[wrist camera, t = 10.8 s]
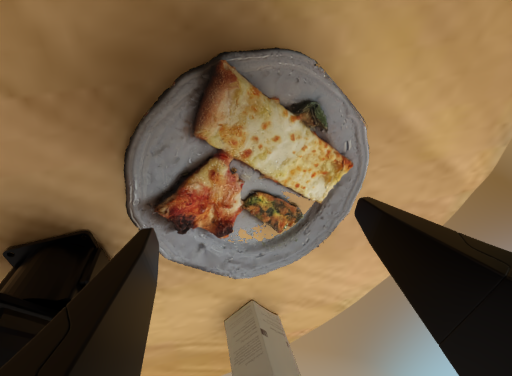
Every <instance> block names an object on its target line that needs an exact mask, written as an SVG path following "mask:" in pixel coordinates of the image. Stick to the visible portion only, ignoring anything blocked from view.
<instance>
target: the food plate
mask: <svg viewBox="0 0 512 376" xmlns="http://www.w3.org/2000/svg"><path fill="white" fill-rule="evenodd" d="M316 63H317V62H316V61H314V59H311V58H309V57H308V56H306V55H305V54H302V53H301V52H298V51H294V50H289V49H280V48H276V47H275V48H272V49H260V50H254V51H253V50H251V51H243V52H241V51H239V52H236V51H235V52H224V53H220V54H219V55H218V56H216V57H215V58H212V60H210V61H209V62H207V63H206V64H203V65H201V66H198V67H196V68H193V69H190V70H189V71H187V72H185V73H184V74H182V75H181V76H179V77H178V78H177V79H176V80H175V81H174V83H173V86H171V88H168V89H166V90H165V91H164V92H163V94H162V95H161V96H160V97H158V98H159V99H158V101H156V102H155V103H154V105H153V107H151V108H150V109H149V110H148V111H147V113H146V114H145V115H144V117H143V118H142V119H141V121H140V123H139V124H138V126H137V127H136V129H135V131H134V133H133V135H132V136H131V138H130V142H129V145H128V147H127V149H126V153H125V160H124V162H125V164H124V178H125V184H126V185H125V186H126V208H127V214H128V216H129V217H130V219H131V221H132V222H133V224H134V225H135V226H137V227H139V228H140V229H139V230H141V229H143V228H150V227H152V228H154V230H155V233H156V236H157V239H158V242H159V253H160V254H161V255H163V256H164V257H165V258H167V259H168V260H171V261H173V262H177V263H179V264H184V265H185V266H187V265H188V266H191V267H193V268H196V269H201V270H203V271H206V272H211V273H215V274H218V275H222V276H229V278H230V277H233V278H234V279H240V278H242V279H243V278H251V277H255V276H259V275H263V274H266V273H268V272H270V271H273V270H276V269H277V268H280V267H283V266H286V265H288V264H291V263H293V262H294V261H297V260H299V259H301V258H302V257H303V256H305V255H307V254H308V253H309V252H310V251H312V250H313V249H315V248H316V247H319V244H320V243H321V242H323V240H325V239H327V238H328V236H329V235H330V234H331V232H333V231H334V229H335V228H336V227H337V226H338V224H339V223H340V222H341V221H342V220H344V218H345V217H346V215H348V213H349V212H350V210H351V207H352V205H353V202H354V201H355V198H356V196H357V194H358V193H359V191H360V190H361V187H362V183H363V181H364V179H365V175H366V171H367V166H368V162H369V147H368V146H369V145H368V142H367V129H366V126H365V124H363V121H364V119H363V118H362V116H361V114H360V113H359V112H358V111H357V109H356V108H355V107H354V106H353V104H352V103H351V102H350V100H349V99H348V98H347V96H346V95H345V94H343V92H342V91H341V90H340V88H339V87H338V86H337V85H336V84H335V82H334V81H333V80H332V79H331V78H330V77H329V75H328V74H327V73H325V74H324V72H323V71H324V70H323V69H322V68H318V66H316ZM317 64H318V63H317ZM320 67H321V66H320ZM329 78H330V79H331V80H332V81H331V80H330V79H329ZM332 82H333V83H332ZM352 106H353V107H354V108H355V109H354V108H353V107H352ZM356 111H357V112H358V113H357V112H356ZM359 115H360V116H361V117H360V116H359ZM361 118H362V119H363V121H362V119H361ZM360 119H361V120H360ZM364 122H365V121H364ZM232 167H234V168H236V169H237V171H236V173H234V172H232V171H231V168H232ZM281 191H283V192H286V191H287V192H289V193H294V194H296V195H297V196H298V197H300V196H302V197H304V198H307V199H309V200H313V201H316V202H315V203H314V204H313V205H312V207H311V208H310V209H309V210H308V211H307V212H306V214H304V215H303V214H302V212H301V210H300V209H299V208H298V207H294V206H293V205H291V204H290V203H289V202H288V201H287V199H289V198H290V197H287V198H285V197H286V196H285V195H282V194H283V193H282V192H281ZM275 195H276V196H275ZM263 222H265V223H267V225H269V226H271V227H272V228H273V229H274V230H276V231H277V232H278V233H281V232H282V231H283V230H284V229H286V227H287V226H290V227H291V226H292V225H293V224H294V223H297V222H298V223H297V224H296V225H294V226H293V227H291V228H290V229H289V230H287V231H284V232H283V233H282V234H279V235H276V236H275V237H274V238H272V239H266V238H264V239H263V241H262V242H261V241H259V242H258V240H256V239H255V238H254V239H248V240H247V242H248V243H245V239H246V238H243V240H244V241H243V242H242V241H238V240H241V239H242V238H240V236H238V235H239V234H238V231H239V230H240V228H241V229H243V230H246V231H247V234H248V235H251V236H253V232H256V230H255V231H253V229H251V228H252V227H258V226H257V224H259V226H261V225H263ZM263 227H266V226H263ZM260 228H261V227H260ZM233 230H234V232H233ZM261 231H262V230H260V233H261ZM232 232H233V233H232ZM210 233H211V234H210ZM257 233H258V232H256V234H257ZM212 234H213V235H212ZM235 234H236V235H237V236H236V235H235ZM265 235H266V234H265ZM231 236H232V237H231ZM271 236H273V234H272V235H271ZM262 237H263V236H262ZM252 238H253V237H252ZM229 239H230V240H231V241H235V242H234V243H231V242H229V241H228V240H229ZM233 239H235V240H233ZM265 239H266V240H265Z"/></svg>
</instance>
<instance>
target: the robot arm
mask: <svg viewBox="0 0 512 376" xmlns="http://www.w3.org/2000/svg"><path fill="white" fill-rule="evenodd" d="M355 217H356V219H357V221H358V223H359V225H360V226H361V228H362V230H363V232H364V234H365V236H366V237H367V239H368V241H369V243H370V244H371V246H372V248H373V249H374V251H375V252H376V254H377V255H378V257H379V258H380V259H381V261H382V262H383V264H384V265H385V267H386V268H387V270H388V271H389V273H390V274H391V276H392V277H393V278H394V280H395V282H396V283H397V285H398V286H399V287H400V289H401V290H402V292H403V293H404V295H405V296H406V298H407V299H408V301H409V302H410V304H411V305H412V307H413V308H414V310H415V311H416V313H417V314H418V315H419V317H420V318H421V320H422V321H423V323H424V324H425V326H426V327H427V329H428V330H429V332H430V333H431V334H432V336H433V338H434V339H435V341H436V342H437V343H438V344H439V347H440V348H441V349H442V351H443V353H444V354H445V356H446V357H447V359H448V360H449V362H450V363H451V364H452V366H453V367H454V369H455V370H456V372H457V373H458V375H459V376H512V252H509V251H507V250H504V249H501V248H498V247H495V246H493V245H490V244H487V243H485V242H482V241H479V240H477V239H474V238H471V237H469V236H466V235H464V234H461V233H457V232H456V231H453V230H451V229H449V228H446V227H444V226H441V225H438V224H436V223H433V222H431V221H428V220H426V219H423V218H421V217H418V216H416V215H413V214H411V213H408V212H406V211H403V210H401V209H398V208H396V207H393V206H390V205H388V204H385V203H383V202H380V201H378V200H375V199H373V198H370V197H363V198H360V199H359V200H358V202H357V206H356V209H355ZM83 235H84V236H86V237H83ZM10 252H12V253H10ZM13 253H14V254H13ZM3 256H4V257H5V258H6V259H7V261H8V262H9V263H10V264H11V265H12V266H13V268H12V269H11V271H10V272H9V273H8V274H7V276H6V277H5V278H4V279H3V281H2V282H1V283H0V376H140V374H141V368H142V363H143V358H144V352H145V347H146V341H147V336H148V330H149V325H150V320H151V314H152V309H153V303H154V298H155V293H156V287H157V277H158V260H159V242H158V239H157V236H156V233H155V230H154V228H152V227H150V228H143V229H141V230H140V231H139V232H138V233H137V234H136V235H135V236H134V237H133V238H132V239H131V240H130V241H129V242H128V243H127V244H126V245H125V246H124V247H123V248H122V249H121V250H120V251H119V252H118V253H117V254H116V255H115V256H114V257H113V258H112V259H111V260H110V261H109V260H108V258H107V256H106V255H105V253H104V251H103V250H102V249H101V248H99V246H98V244H97V243H96V241H95V239H94V238H93V236H92V234H91V233H90V232H89V231H79V232H75V233H71V234H66V235H62V236H57V237H53V238H49V239H44V240H40V241H35V242H31V243H27V244H22V245H18V246H13V247H9V248H7V249H6V250H5V251H4V253H3Z"/></svg>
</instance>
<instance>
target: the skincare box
mask: <svg viewBox="0 0 512 376" xmlns="http://www.w3.org/2000/svg"><path fill="white" fill-rule="evenodd" d="M224 323H225V330H226V336H227V343H228V349H229V356H230V363H231V369H232V376H301V374H300V372H299V369H298V366H297V364H296V361H295V358H294V355H293V353H292V350H291V348H290V345H289V342H288V340H287V337H286V334H285V331H284V329H283V326H282V323H281V321H280V318H279V316H278V315H275V314H273V313H271V312H269V311H268V310H266V309H265V308H263V307H261V306H260V305H259V304H257V303H256V302H255V301H250V302H249V303H247V304H246V305H245V306H244V307H242V308H241V309H240V310H238V311H237V312H236V313H234V314H233V315H232V316H230V317H229V318H228V319H227V320H225V321H224Z"/></svg>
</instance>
